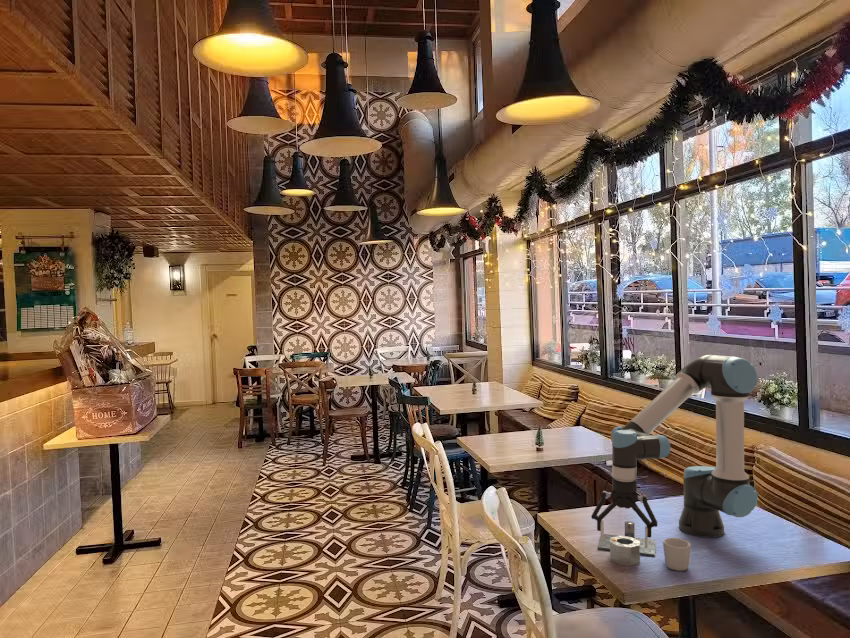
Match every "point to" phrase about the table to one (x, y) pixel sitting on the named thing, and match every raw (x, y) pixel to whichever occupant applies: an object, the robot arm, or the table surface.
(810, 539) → the table surface
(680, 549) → the cup
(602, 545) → the plate with peg
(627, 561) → the ring
